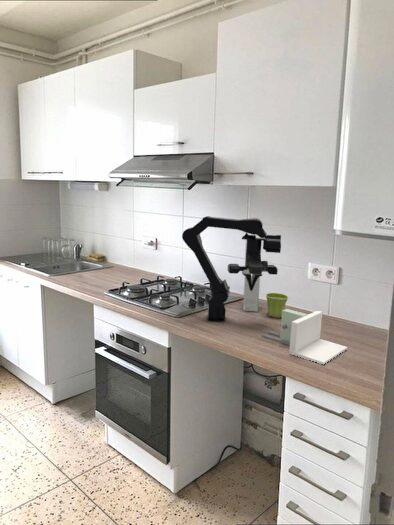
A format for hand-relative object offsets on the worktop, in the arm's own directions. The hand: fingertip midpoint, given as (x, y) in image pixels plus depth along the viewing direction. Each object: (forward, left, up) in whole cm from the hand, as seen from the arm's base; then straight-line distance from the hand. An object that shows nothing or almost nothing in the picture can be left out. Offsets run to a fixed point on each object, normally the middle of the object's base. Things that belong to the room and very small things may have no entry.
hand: (250, 290), depth 163 cm
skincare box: (+4, +18, -13) cm, 23 cm away
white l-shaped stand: (+13, -23, -13) cm, 30 cm away
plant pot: (+13, +9, -13) cm, 21 cm away
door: (+11, -21, -13) cm, 27 cm away
